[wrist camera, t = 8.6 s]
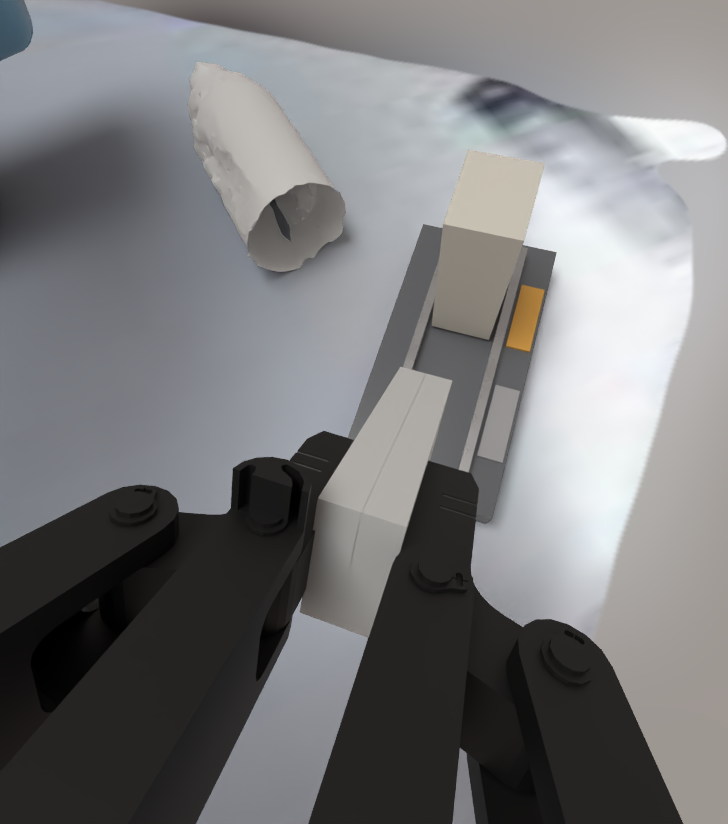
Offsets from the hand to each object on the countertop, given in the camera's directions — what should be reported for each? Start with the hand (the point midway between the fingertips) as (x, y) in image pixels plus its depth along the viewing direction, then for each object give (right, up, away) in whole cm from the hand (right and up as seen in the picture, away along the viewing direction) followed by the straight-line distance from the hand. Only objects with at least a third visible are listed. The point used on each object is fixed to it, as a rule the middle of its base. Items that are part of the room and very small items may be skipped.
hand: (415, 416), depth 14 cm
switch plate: (+5, +3, +21) cm, 22 cm away
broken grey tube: (-11, +19, +28) cm, 35 cm away
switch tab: (+6, +8, +20) cm, 22 cm away
